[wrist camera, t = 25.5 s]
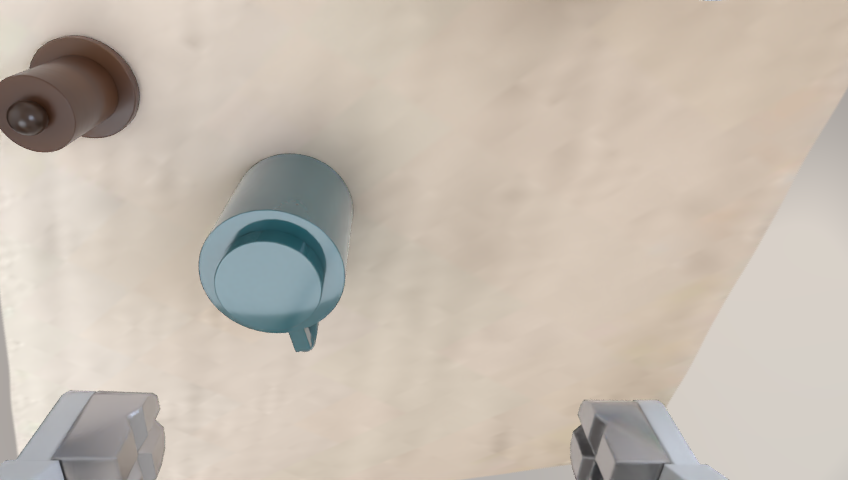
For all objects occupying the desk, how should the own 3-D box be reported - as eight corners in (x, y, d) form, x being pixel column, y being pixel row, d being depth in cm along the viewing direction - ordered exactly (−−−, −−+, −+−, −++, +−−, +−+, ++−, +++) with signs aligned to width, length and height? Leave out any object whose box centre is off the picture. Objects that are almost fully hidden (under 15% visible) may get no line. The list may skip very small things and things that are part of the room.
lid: (15, 45, 38) (-76, 72, 31) (115, 26, 38) (47, 49, 31) (63, 142, 42) (-10, 189, 34) (155, 125, 41) (102, 168, 34)
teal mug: (218, 166, 43) (166, 237, 33) (336, 142, 43) (321, 207, 33) (267, 296, 49) (236, 391, 38) (372, 276, 48) (369, 366, 38)
